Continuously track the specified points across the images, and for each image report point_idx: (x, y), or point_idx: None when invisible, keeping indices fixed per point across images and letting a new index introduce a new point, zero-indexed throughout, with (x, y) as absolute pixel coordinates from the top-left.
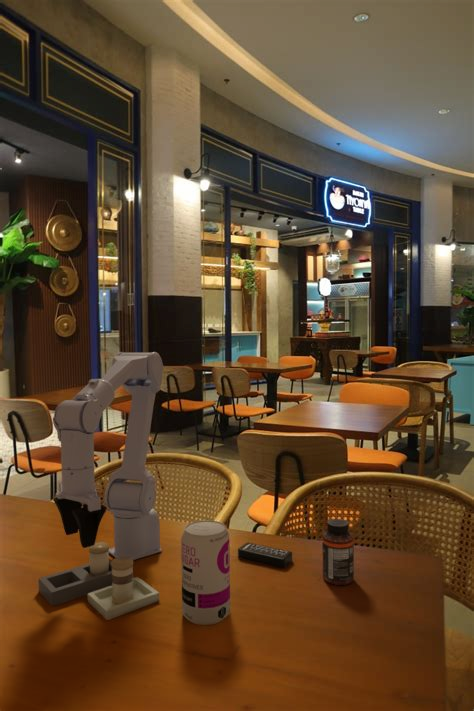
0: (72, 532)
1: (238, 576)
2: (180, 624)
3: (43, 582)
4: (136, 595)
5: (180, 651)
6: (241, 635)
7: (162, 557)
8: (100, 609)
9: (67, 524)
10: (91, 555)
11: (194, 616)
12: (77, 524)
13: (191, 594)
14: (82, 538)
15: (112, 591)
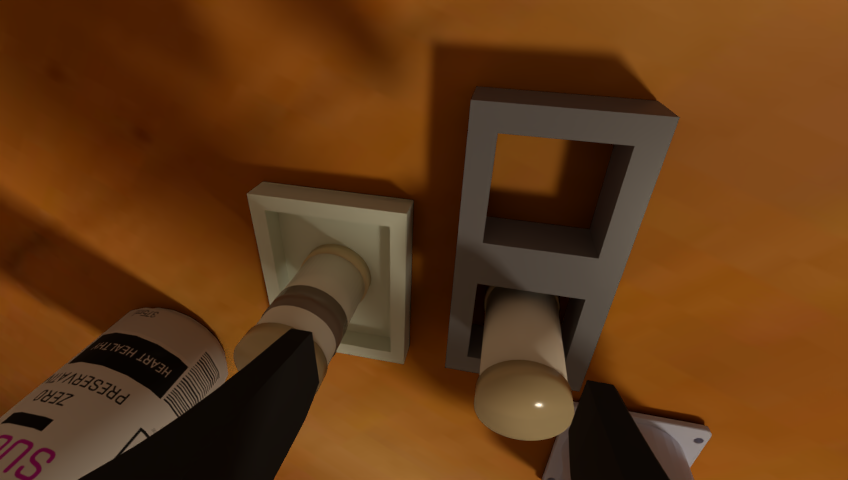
0: (579, 417)
1: (297, 465)
2: (161, 289)
3: (608, 115)
4: None
5: (53, 223)
6: (80, 330)
7: (510, 462)
8: (302, 193)
9: (603, 465)
10: (518, 353)
11: (124, 317)
12: (185, 473)
13: (81, 357)
14: (236, 373)
15: (333, 267)
